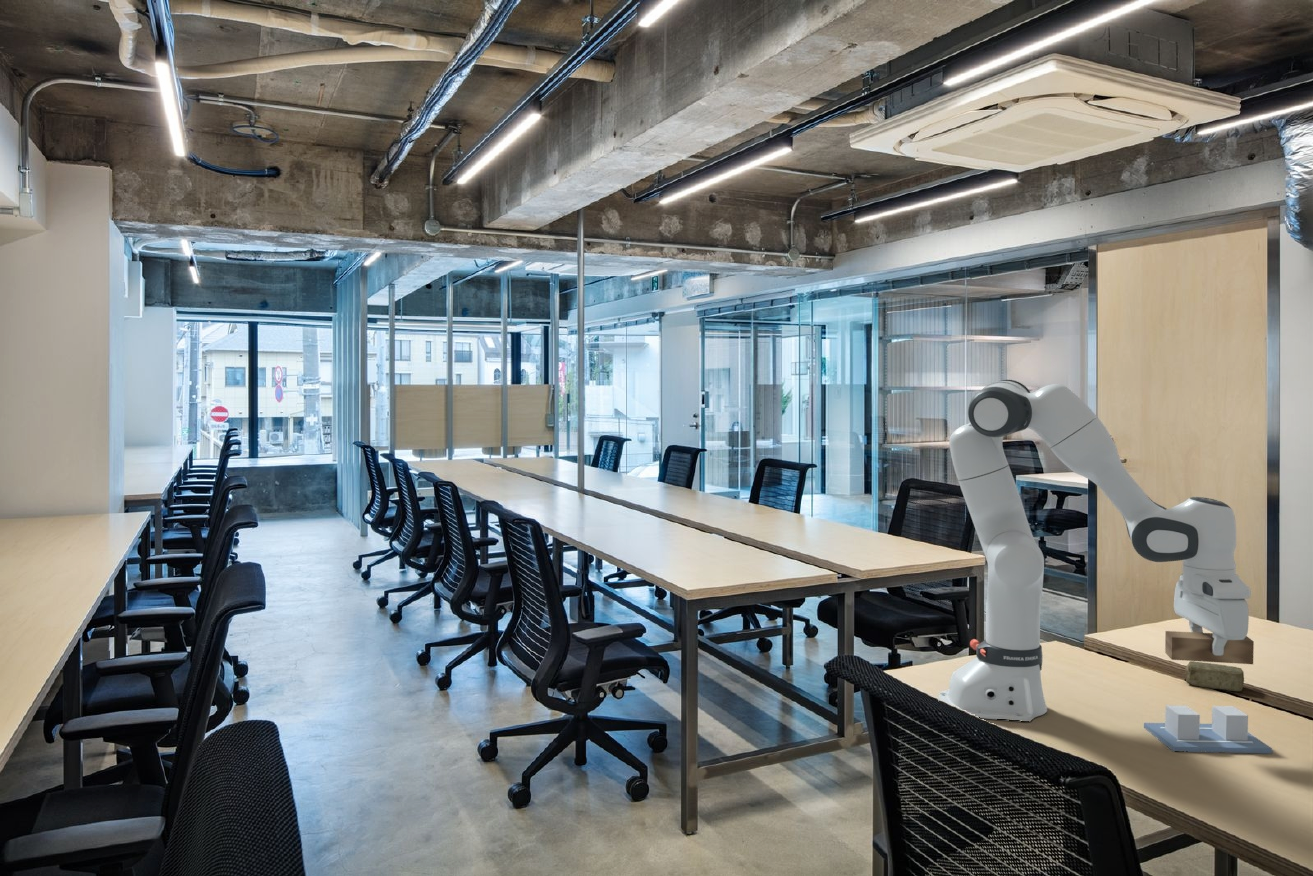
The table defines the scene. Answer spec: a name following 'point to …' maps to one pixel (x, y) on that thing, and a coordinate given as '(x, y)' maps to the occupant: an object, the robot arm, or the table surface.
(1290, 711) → the table surface
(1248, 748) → the bridge base
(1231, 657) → the walnut beam
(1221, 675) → the stone block
